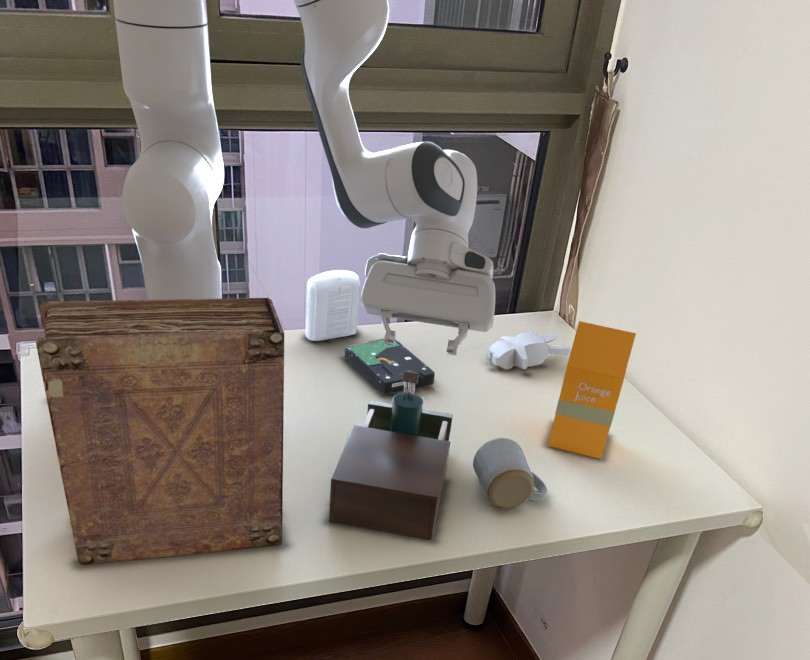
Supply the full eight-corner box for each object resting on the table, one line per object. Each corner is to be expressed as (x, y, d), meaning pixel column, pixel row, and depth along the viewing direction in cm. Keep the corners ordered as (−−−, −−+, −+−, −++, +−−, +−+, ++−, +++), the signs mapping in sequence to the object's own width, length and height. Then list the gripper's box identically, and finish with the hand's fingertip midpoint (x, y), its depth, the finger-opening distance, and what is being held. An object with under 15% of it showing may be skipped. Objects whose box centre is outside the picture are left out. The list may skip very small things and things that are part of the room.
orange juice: (555, 423, 142) (581, 311, 129) (607, 436, 140) (639, 323, 128) (547, 446, 136) (574, 331, 123) (601, 459, 134) (634, 344, 122)
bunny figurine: (480, 334, 157) (551, 319, 161) (479, 358, 160) (549, 343, 164) (503, 357, 150) (577, 341, 154) (501, 382, 154) (573, 366, 158)
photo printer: (348, 326, 163) (352, 263, 156) (360, 335, 161) (364, 272, 153) (301, 334, 158) (303, 270, 151) (312, 344, 156) (314, 279, 148)
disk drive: (434, 386, 148) (391, 349, 157) (436, 372, 146) (393, 335, 156) (384, 397, 143) (342, 358, 152) (385, 382, 141) (343, 344, 151)
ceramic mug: (483, 513, 120) (493, 468, 115) (468, 480, 126) (477, 436, 121) (552, 510, 122) (565, 466, 117) (534, 478, 128) (545, 435, 123)
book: (76, 565, 103) (32, 339, 84) (77, 520, 110) (37, 301, 91) (283, 545, 110) (284, 331, 91) (272, 503, 117) (271, 296, 98)
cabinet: (350, 466, 126) (353, 424, 121) (444, 482, 125) (450, 441, 120) (328, 522, 115) (331, 478, 110) (431, 540, 114) (437, 497, 109)
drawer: (372, 418, 136) (374, 387, 132) (451, 431, 135) (456, 401, 131) (349, 477, 122) (351, 444, 118) (437, 492, 121) (442, 460, 118)
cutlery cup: (385, 457, 125) (393, 376, 117) (390, 442, 129) (398, 362, 120) (414, 462, 125) (424, 381, 117) (418, 447, 128) (428, 367, 120)
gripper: (367, 241, 125) (349, 330, 123) (503, 262, 123) (487, 352, 122) (370, 260, 131) (354, 345, 129) (500, 280, 130) (485, 366, 128)
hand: (420, 348), depth 126 cm, fingers open, 8 cm apart
